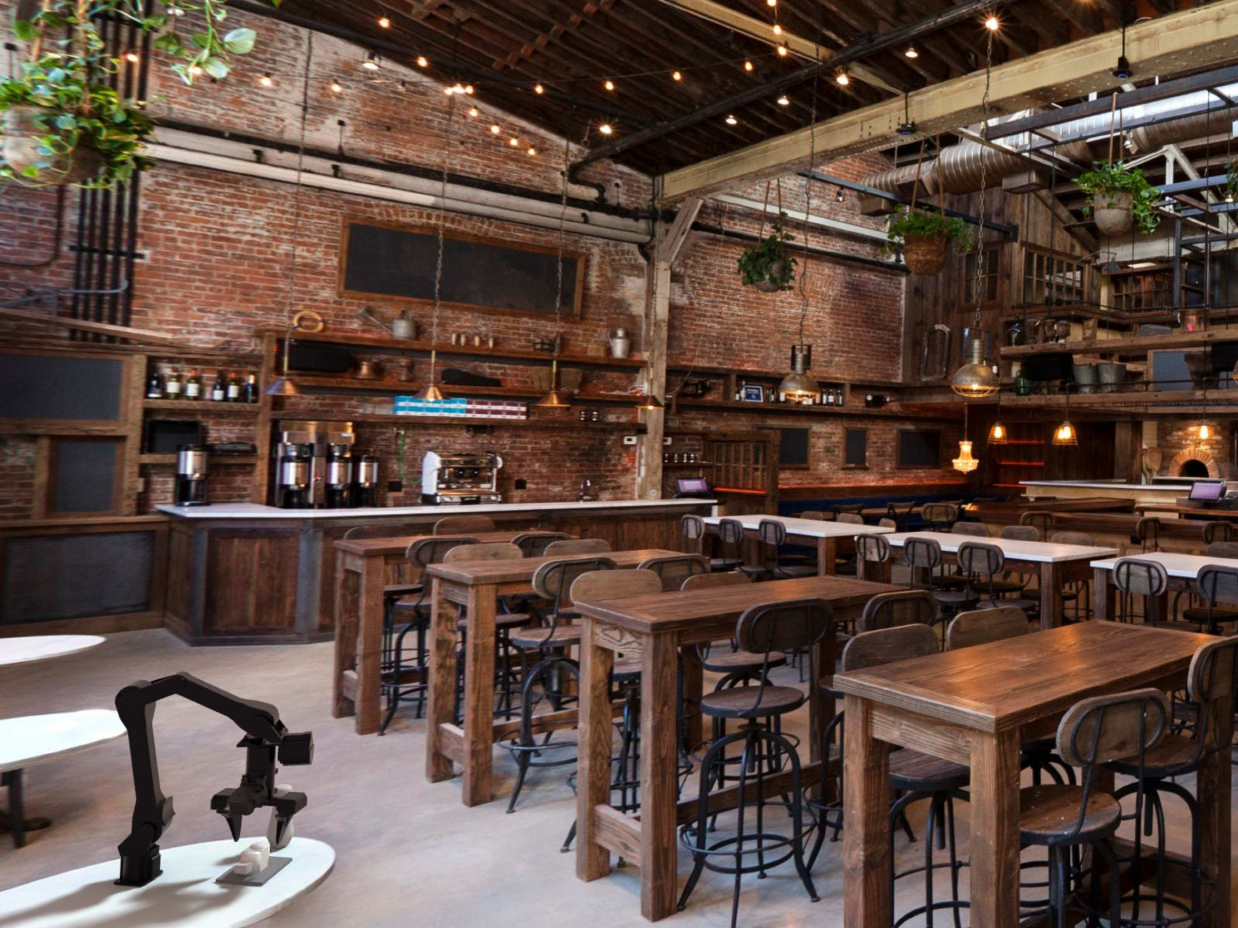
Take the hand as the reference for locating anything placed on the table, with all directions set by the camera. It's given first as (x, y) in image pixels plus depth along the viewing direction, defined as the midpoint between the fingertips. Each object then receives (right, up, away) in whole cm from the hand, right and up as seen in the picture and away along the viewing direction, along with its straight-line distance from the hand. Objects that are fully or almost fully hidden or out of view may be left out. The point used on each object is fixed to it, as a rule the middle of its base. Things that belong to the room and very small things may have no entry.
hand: (257, 842), depth 172 cm
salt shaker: (-1, -7, +13) cm, 15 cm away
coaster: (0, -6, 0) cm, 6 cm away
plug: (0, -5, 0) cm, 5 cm away
